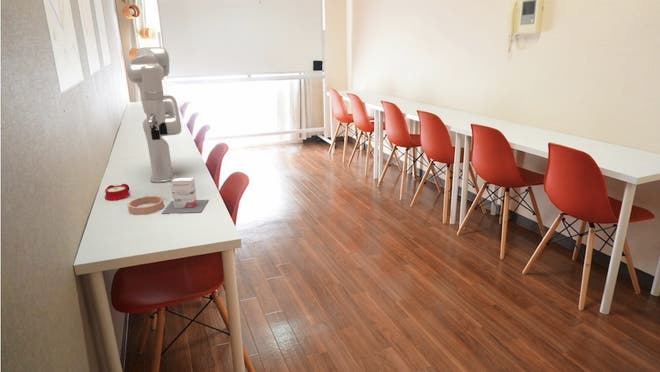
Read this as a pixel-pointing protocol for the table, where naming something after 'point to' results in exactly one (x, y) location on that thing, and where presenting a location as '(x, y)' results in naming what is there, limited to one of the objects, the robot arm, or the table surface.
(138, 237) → the table surface
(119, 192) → the alarm clock
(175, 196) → the ink box
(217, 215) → the table surface
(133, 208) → the copper faceted ring
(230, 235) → the table surface
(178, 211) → the mat
